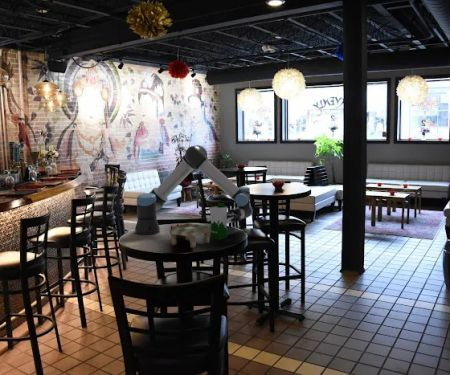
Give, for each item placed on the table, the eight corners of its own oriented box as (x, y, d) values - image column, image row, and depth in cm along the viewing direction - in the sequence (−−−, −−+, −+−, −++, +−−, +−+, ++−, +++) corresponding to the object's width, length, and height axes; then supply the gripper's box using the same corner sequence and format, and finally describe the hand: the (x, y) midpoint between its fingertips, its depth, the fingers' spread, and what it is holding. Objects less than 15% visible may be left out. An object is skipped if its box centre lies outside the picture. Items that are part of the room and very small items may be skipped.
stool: (170, 244, 251) (169, 227, 250) (187, 238, 265) (187, 222, 264) (193, 248, 243) (193, 230, 242) (210, 241, 256) (210, 225, 255)
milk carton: (229, 237, 266) (229, 203, 264) (219, 240, 259) (218, 205, 257) (218, 235, 272) (217, 202, 270) (207, 238, 265) (207, 204, 263)
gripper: (254, 222, 275) (236, 228, 257) (218, 218, 288) (199, 224, 270) (254, 210, 274) (235, 215, 256) (218, 206, 287) (199, 211, 269)
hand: (217, 220), depth 263 cm, fingers open, 13 cm apart
